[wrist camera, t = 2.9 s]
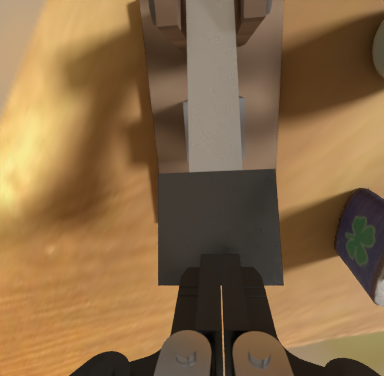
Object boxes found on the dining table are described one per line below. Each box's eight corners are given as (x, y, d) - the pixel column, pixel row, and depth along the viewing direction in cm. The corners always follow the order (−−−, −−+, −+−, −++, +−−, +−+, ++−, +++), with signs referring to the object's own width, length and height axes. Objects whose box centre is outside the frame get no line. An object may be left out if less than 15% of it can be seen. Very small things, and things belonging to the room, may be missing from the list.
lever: (164, 0, 19) (158, -26, 17) (256, -9, 18) (260, -38, 16) (165, 278, 16) (158, 285, 14) (275, 278, 15) (283, 285, 13)
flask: (351, 255, 34) (407, 325, 24) (327, 252, 34) (374, 321, 24) (375, 188, 31) (453, 237, 21) (349, 185, 31) (414, 232, 21)
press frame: (142, -3, 26) (82, -77, 14) (281, -18, 24) (341, -112, 13) (167, 219, 34) (143, 288, 22) (271, 216, 33) (302, 288, 21)
